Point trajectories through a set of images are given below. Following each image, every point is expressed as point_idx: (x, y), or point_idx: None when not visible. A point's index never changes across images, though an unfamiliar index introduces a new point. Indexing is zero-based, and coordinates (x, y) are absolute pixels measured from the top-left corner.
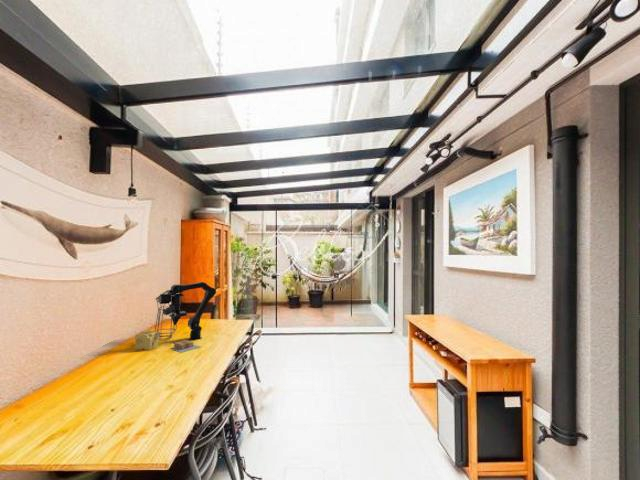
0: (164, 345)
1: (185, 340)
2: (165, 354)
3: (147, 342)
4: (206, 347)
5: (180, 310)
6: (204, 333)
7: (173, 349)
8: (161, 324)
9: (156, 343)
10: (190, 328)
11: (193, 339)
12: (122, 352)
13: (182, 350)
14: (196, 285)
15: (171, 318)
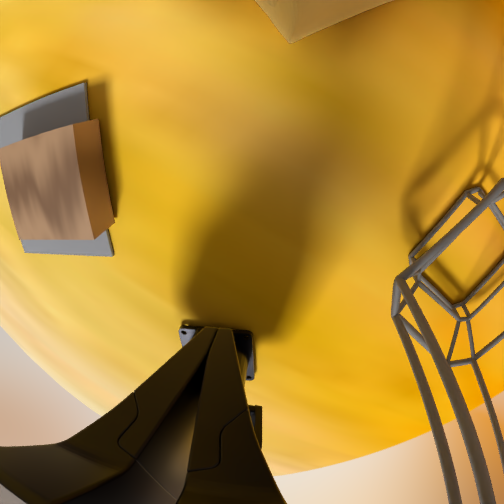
0: (235, 86)
1: (76, 229)
2: (28, 27)
3: None
4: (14, 263)
5: None
6: (286, 422)
7: (57, 94)
8: None
9: (265, 11)
10: (255, 411)
11: (188, 328)
12: None
13: (12, 136)
14: None
15: (467, 440)
